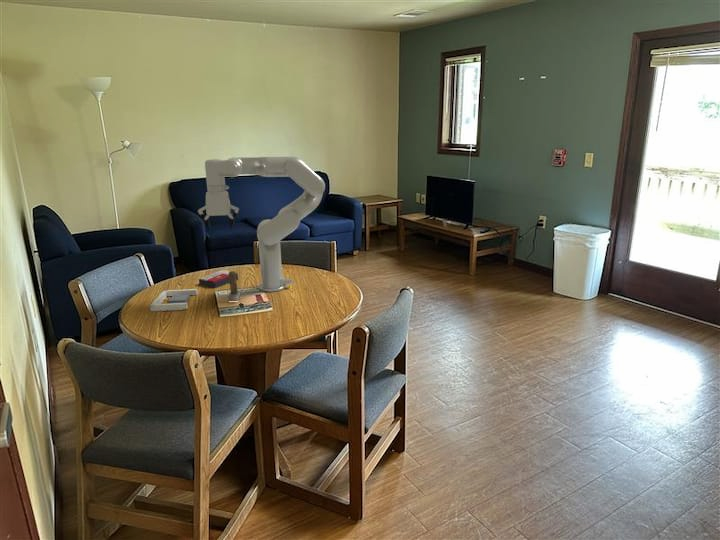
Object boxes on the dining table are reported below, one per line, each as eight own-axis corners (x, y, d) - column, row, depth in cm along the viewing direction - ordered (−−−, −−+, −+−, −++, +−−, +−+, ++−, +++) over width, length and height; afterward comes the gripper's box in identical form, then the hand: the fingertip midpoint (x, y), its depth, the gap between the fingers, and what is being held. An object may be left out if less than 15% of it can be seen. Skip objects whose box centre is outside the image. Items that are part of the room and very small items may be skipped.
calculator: (198, 278, 235) (221, 268, 246) (199, 286, 236) (223, 276, 248) (214, 281, 229) (237, 271, 241) (215, 290, 230) (238, 279, 242)
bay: (197, 294, 222) (196, 288, 222) (186, 309, 204) (186, 303, 203) (164, 295, 221) (163, 290, 221) (150, 311, 203) (149, 305, 202)
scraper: (241, 296, 218) (238, 269, 215) (237, 302, 211) (235, 274, 207) (231, 296, 218) (229, 269, 214) (228, 303, 210) (225, 275, 207)
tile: (190, 299, 217) (189, 294, 216) (185, 305, 210) (185, 300, 209) (173, 300, 216) (173, 295, 216) (168, 306, 210) (168, 300, 209)
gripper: (237, 187, 217) (241, 225, 222) (197, 188, 215) (201, 227, 220) (236, 189, 210) (239, 229, 215) (194, 190, 208) (198, 230, 212)
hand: (220, 228), depth 217 cm, fingers open, 9 cm apart
